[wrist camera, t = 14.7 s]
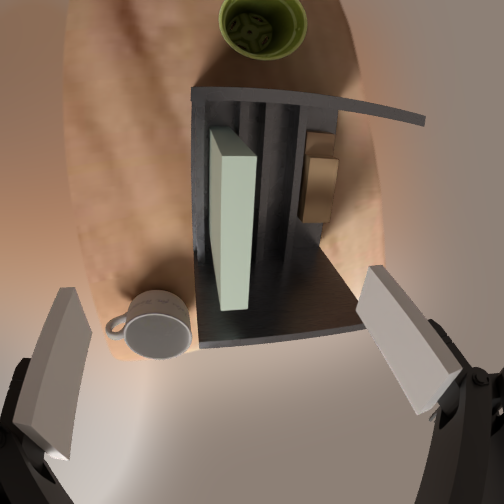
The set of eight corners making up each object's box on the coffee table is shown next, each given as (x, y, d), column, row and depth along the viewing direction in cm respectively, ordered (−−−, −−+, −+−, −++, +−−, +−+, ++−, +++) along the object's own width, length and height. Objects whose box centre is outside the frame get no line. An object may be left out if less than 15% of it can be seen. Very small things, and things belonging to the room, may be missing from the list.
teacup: (195, 285, 50) (197, 318, 43) (185, 332, 55) (187, 365, 48) (111, 273, 46) (101, 305, 39) (111, 322, 50) (104, 355, 44)
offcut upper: (305, 154, 38) (310, 157, 37) (332, 155, 39) (339, 159, 37) (297, 217, 43) (302, 223, 41) (323, 216, 43) (329, 222, 42)
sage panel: (209, 126, 36) (222, 156, 21) (228, 126, 37) (257, 156, 21) (208, 226, 43) (220, 310, 28) (226, 225, 44) (247, 308, 28)
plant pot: (296, 21, 32) (321, 7, 24) (267, 76, 35) (286, 74, 28) (232, -8, 28) (242, -30, 21) (201, 50, 32) (203, 39, 25)
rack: (192, 88, 35) (191, 86, 18) (334, 97, 38) (425, 116, 22) (193, 252, 47) (199, 348, 30) (314, 247, 50) (369, 328, 34)
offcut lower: (302, 129, 38) (307, 132, 37) (329, 132, 39) (335, 134, 37) (293, 211, 44) (297, 217, 43) (318, 211, 45) (323, 216, 43)
